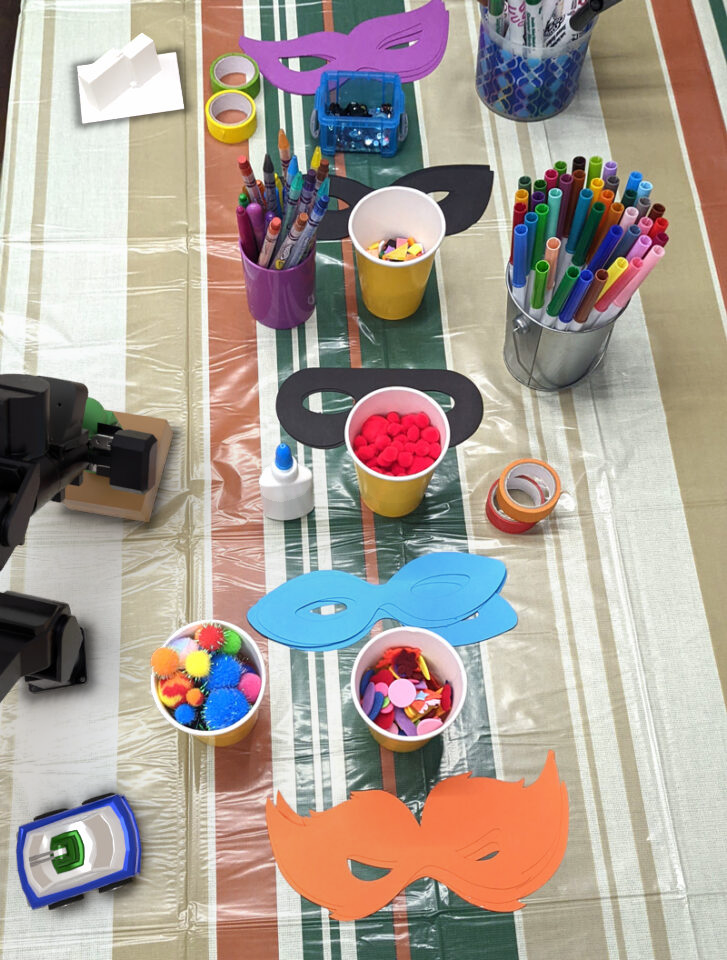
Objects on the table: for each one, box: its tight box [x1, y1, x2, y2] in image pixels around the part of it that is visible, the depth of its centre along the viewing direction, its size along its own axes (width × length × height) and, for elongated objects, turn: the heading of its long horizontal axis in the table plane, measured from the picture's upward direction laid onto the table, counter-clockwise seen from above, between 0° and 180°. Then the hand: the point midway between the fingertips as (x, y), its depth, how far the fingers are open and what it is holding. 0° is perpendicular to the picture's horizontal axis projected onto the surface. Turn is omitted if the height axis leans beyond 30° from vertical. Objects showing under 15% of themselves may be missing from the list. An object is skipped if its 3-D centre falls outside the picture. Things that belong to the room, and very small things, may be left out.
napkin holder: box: [76, 32, 185, 124], centre depth 128 cm, size 15×11×6 cm
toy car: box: [15, 792, 143, 911], centre depth 89 cm, size 9×12×10 cm
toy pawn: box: [82, 396, 124, 474], centre depth 99 cm, size 5×5×13 cm
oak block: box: [61, 409, 174, 523], centre depth 107 cm, size 12×10×4 cm
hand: (100, 422), depth 99 cm, fingers closed on toy pawn, 4 cm apart
